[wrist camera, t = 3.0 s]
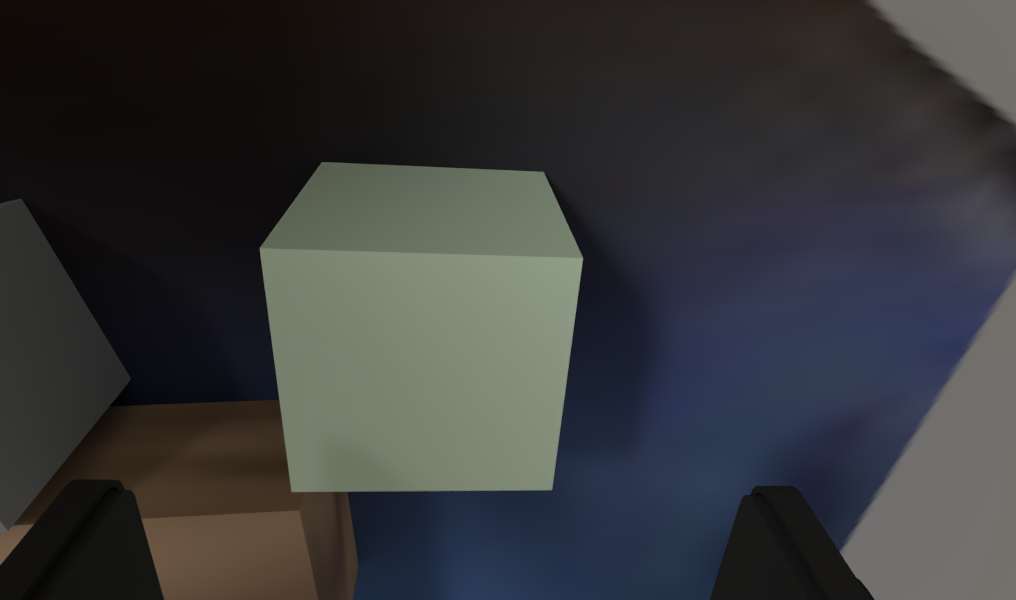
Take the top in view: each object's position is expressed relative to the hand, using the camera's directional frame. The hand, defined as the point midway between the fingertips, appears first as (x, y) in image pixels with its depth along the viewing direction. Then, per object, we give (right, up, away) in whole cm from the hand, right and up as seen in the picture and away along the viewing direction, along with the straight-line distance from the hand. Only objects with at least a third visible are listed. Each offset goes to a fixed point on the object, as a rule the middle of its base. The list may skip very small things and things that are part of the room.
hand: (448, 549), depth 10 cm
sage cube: (-1, +5, +8) cm, 10 cm away
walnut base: (-9, -3, +12) cm, 15 cm away
